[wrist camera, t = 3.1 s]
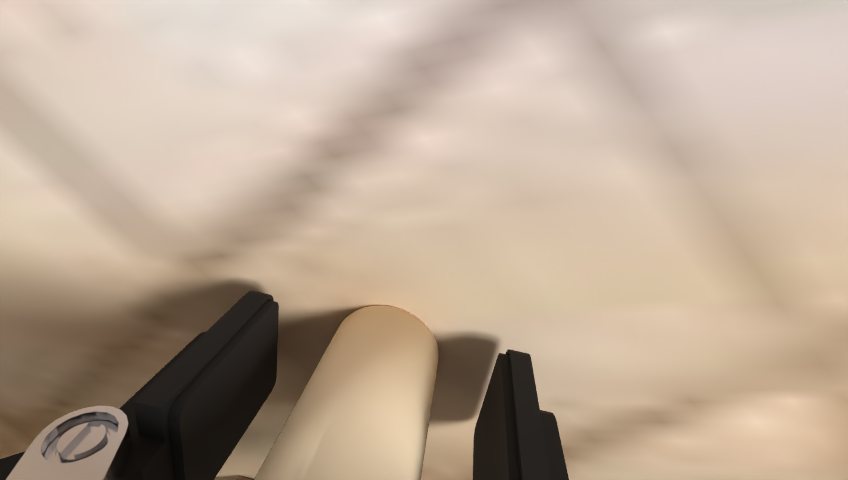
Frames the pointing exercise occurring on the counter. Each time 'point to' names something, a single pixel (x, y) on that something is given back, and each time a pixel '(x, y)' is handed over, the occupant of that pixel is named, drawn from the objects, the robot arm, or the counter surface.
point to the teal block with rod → (362, 404)
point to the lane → (243, 478)
